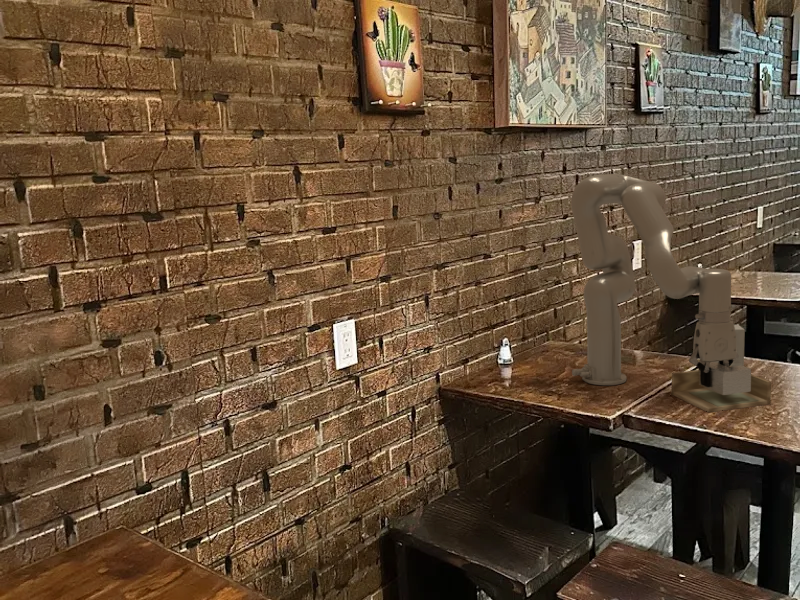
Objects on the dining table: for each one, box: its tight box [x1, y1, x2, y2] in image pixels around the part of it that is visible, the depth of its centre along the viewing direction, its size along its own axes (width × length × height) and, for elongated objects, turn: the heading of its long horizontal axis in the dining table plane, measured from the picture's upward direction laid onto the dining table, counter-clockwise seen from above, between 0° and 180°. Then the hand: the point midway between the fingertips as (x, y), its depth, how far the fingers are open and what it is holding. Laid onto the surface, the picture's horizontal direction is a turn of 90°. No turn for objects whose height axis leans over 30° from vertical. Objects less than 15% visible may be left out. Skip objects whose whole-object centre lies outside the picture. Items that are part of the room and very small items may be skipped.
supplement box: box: [715, 324, 746, 367], centre depth 216 cm, size 7×7×13 cm
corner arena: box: [671, 366, 772, 413], centre depth 189 cm, size 18×16×6 cm
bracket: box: [698, 362, 752, 395], centre depth 186 cm, size 10×8×6 cm
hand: (713, 384), depth 188 cm, fingers closed on bracket, 4 cm apart
